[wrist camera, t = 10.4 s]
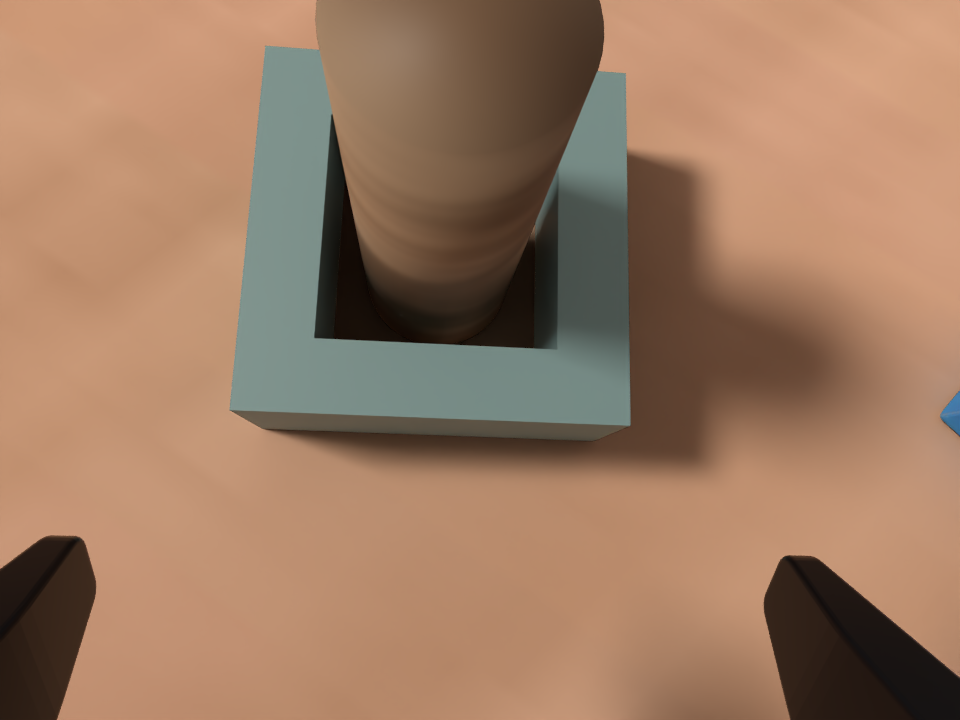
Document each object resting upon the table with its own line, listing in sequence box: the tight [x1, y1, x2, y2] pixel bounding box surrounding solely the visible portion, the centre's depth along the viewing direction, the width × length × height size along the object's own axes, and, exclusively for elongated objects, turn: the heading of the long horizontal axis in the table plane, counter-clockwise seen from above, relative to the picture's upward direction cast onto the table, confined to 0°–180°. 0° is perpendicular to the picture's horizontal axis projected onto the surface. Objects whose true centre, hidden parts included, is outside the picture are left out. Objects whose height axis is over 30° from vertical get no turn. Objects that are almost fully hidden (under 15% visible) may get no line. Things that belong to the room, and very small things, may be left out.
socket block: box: [230, 46, 631, 441], centre depth 22 cm, size 10×10×4 cm
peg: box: [315, 0, 604, 345], centre depth 17 cm, size 4×4×12 cm
